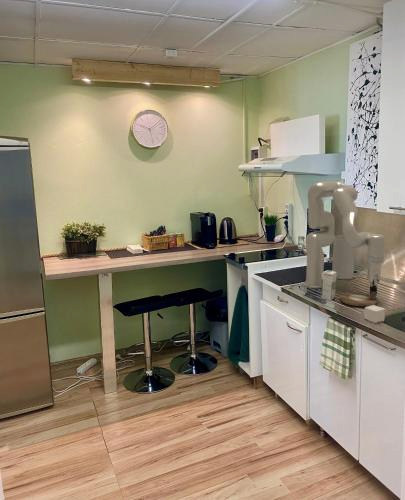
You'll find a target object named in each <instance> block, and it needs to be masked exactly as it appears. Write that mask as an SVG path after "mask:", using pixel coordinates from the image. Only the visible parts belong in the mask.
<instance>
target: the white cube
mask: <svg viewBox="0 0 405 500" xmlns="http://www.w3.org/2000/svg"><path fill="white" fill-rule="evenodd" d="M385 311H386V309H385V308H384V307H381V306H378V305H376V304H375V305H372V306H364V317H363V319H364V318H365V319H368V320H370V321H374V322H378V321H383V322H385V315H386V314H385V313H386V312H385Z"/></svg>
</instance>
